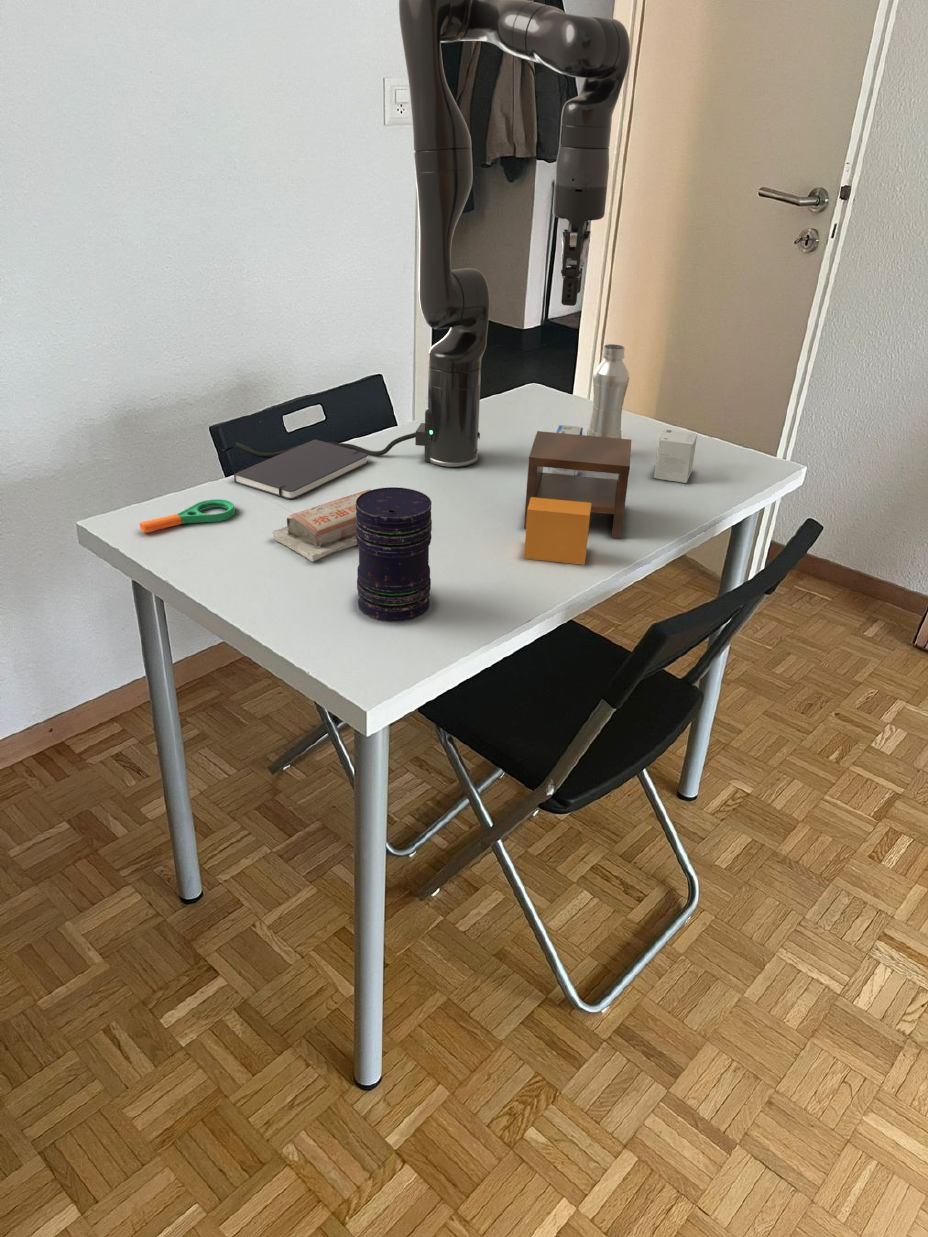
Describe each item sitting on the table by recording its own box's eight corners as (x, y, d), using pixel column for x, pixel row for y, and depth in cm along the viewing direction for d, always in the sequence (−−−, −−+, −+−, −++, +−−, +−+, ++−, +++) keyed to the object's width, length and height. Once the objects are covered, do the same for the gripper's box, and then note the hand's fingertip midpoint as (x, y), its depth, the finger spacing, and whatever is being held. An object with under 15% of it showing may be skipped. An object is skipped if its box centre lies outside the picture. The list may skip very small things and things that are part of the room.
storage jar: (362, 584, 136) (360, 485, 129) (432, 588, 136) (434, 488, 129) (352, 621, 128) (350, 516, 120) (427, 624, 128) (429, 520, 120)
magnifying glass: (223, 502, 159) (222, 493, 158) (242, 515, 155) (241, 505, 154) (134, 527, 150) (132, 516, 149) (152, 540, 146) (150, 530, 145)
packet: (523, 558, 145) (527, 509, 141) (527, 545, 149) (530, 496, 145) (584, 564, 144) (589, 515, 140) (586, 551, 148) (591, 502, 144)
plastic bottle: (594, 444, 188) (606, 340, 178) (626, 452, 185) (639, 346, 175) (578, 453, 184) (588, 346, 173) (609, 462, 180) (622, 354, 170)
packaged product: (363, 481, 156) (405, 500, 150) (364, 509, 158) (405, 529, 152) (269, 511, 145) (310, 533, 139) (272, 540, 147) (312, 564, 141)
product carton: (687, 483, 172) (693, 444, 169) (653, 478, 174) (658, 439, 170) (691, 472, 177) (698, 433, 174) (658, 467, 179) (663, 428, 175)
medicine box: (574, 489, 168) (579, 441, 164) (548, 486, 169) (552, 439, 165) (578, 472, 175) (583, 426, 171) (554, 470, 176) (558, 423, 171)
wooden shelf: (523, 528, 154) (528, 456, 148) (532, 499, 164) (537, 430, 158) (620, 538, 152) (629, 466, 146) (622, 508, 162) (631, 439, 156)
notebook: (315, 447, 182) (234, 482, 166) (314, 438, 181) (233, 473, 165) (369, 462, 176) (291, 500, 160) (369, 454, 175) (291, 491, 160)
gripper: (559, 174, 145) (550, 287, 154) (550, 185, 133) (541, 307, 141) (609, 177, 144) (598, 290, 153) (605, 188, 132) (593, 311, 140)
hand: (570, 298), depth 147 cm, fingers open, 8 cm apart
